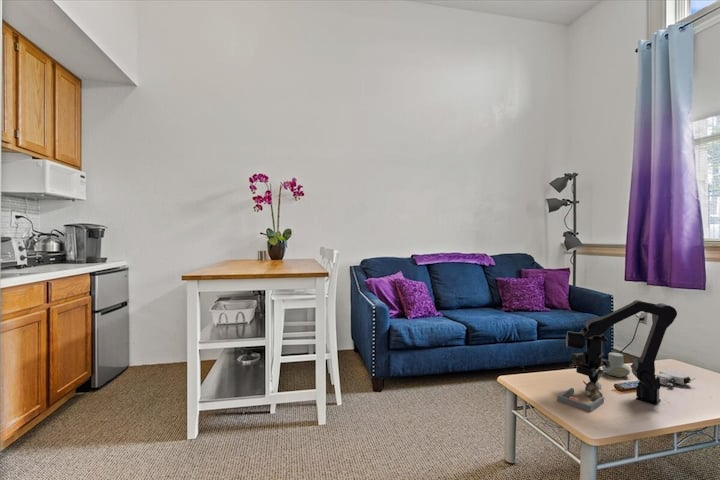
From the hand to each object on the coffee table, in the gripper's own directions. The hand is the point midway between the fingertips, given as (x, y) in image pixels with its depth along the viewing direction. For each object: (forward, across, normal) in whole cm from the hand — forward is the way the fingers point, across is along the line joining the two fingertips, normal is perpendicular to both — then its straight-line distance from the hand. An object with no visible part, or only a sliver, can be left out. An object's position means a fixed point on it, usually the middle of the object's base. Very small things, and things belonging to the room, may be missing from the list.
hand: (592, 386), depth 154 cm
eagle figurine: (+2, +6, +2) cm, 7 cm away
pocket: (+2, +14, +1) cm, 14 cm away
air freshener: (+4, -31, -2) cm, 31 cm away
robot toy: (+3, -39, +16) cm, 42 cm away
